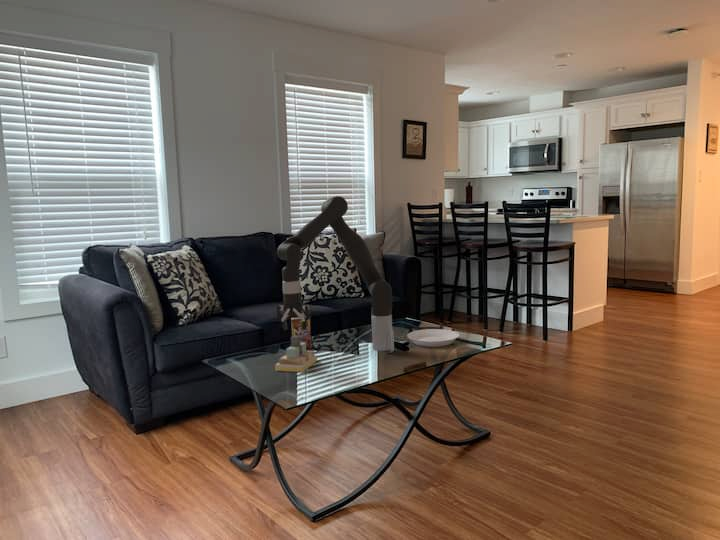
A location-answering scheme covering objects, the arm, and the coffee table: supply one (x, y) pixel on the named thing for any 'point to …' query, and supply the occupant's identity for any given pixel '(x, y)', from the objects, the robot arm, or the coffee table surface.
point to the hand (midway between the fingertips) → (295, 329)
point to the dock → (296, 366)
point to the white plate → (433, 337)
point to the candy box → (301, 331)
